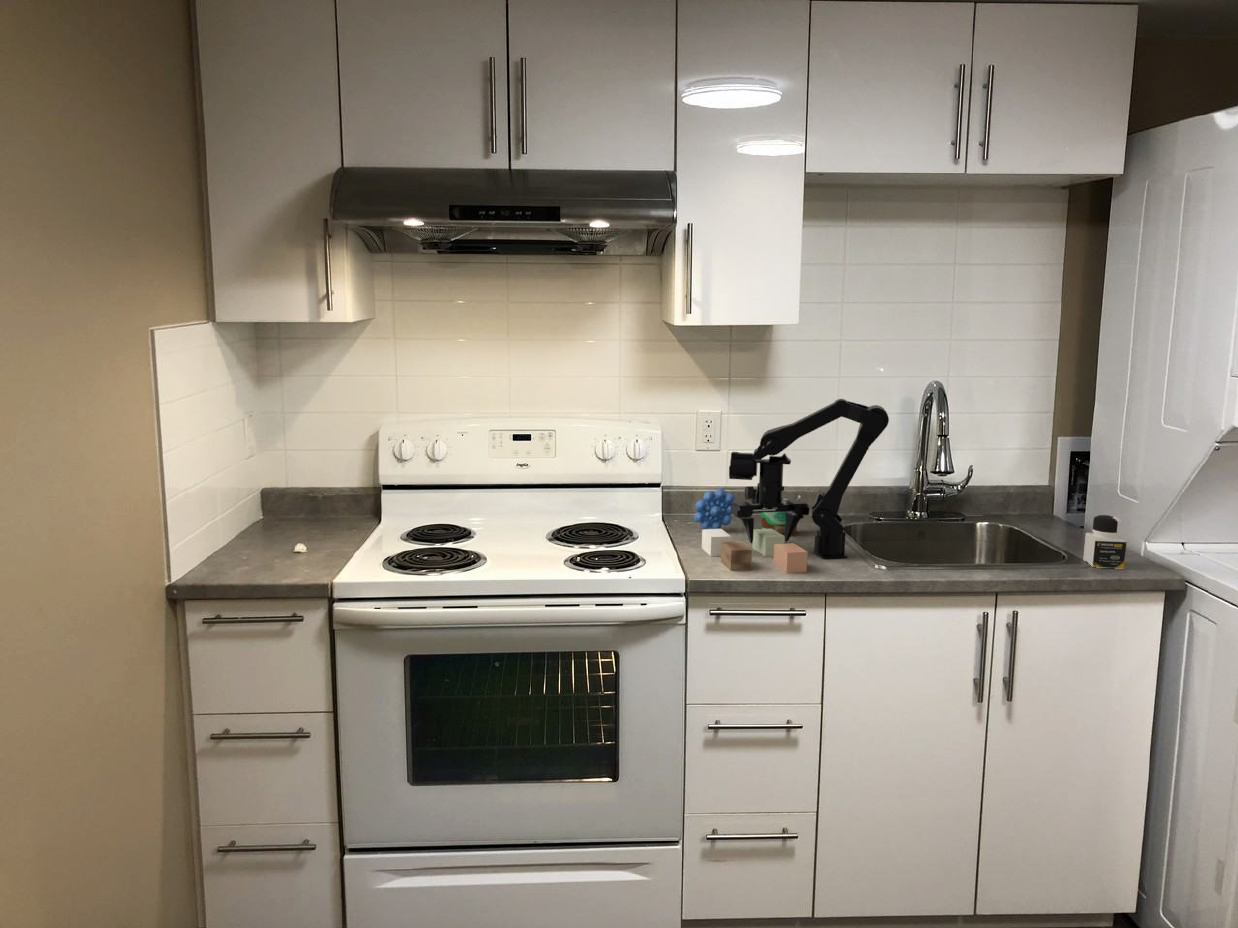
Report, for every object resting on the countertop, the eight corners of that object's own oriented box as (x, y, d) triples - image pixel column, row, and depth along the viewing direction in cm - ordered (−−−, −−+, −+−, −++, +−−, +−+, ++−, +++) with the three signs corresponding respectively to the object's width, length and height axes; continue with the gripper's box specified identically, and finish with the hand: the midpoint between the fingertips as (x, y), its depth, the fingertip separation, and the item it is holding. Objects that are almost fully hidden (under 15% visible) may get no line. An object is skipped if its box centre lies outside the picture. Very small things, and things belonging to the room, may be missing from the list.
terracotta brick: (792, 563, 236) (793, 543, 235) (806, 572, 228) (807, 551, 228) (773, 564, 235) (774, 544, 234) (786, 573, 227) (787, 552, 226)
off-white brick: (720, 547, 250) (721, 528, 249) (730, 555, 242) (730, 536, 241) (701, 548, 249) (702, 529, 248) (710, 556, 241) (711, 537, 240)
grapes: (734, 528, 270) (735, 485, 268) (737, 534, 264) (738, 490, 262) (692, 527, 270) (693, 484, 268) (694, 533, 264) (695, 489, 262)
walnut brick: (740, 561, 238) (741, 541, 237) (751, 570, 230) (751, 549, 229) (720, 562, 237) (721, 541, 236) (730, 571, 229) (731, 550, 228)
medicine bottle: (1092, 568, 234) (1097, 519, 232) (1082, 560, 241) (1087, 512, 239) (1124, 569, 233) (1129, 520, 231) (1113, 561, 240) (1118, 513, 238)
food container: (766, 538, 259) (767, 501, 257) (757, 533, 265) (758, 496, 263) (809, 536, 262) (810, 499, 261) (798, 530, 268) (800, 494, 266)
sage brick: (770, 547, 251) (771, 528, 250) (783, 555, 243) (784, 536, 242) (752, 548, 249) (753, 529, 249) (764, 556, 242) (765, 537, 241)
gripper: (794, 474, 253) (792, 533, 255) (724, 476, 249) (723, 535, 252) (811, 482, 242) (808, 543, 245) (738, 484, 238) (736, 546, 241)
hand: (768, 542), depth 246 cm, fingers open, 9 cm apart
